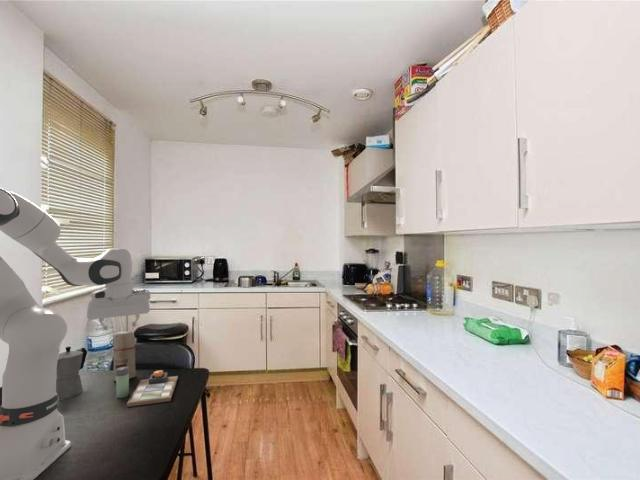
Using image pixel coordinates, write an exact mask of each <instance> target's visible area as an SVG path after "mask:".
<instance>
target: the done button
mask: <svg viewBox="0 0 640 480" xmlns="http://www.w3.org/2000/svg"><path fill="white" fill-rule="evenodd" d="M163 373H164V370H161V369H160V370H155V371H153V373H152V374H153V378H160V377H163Z"/></svg>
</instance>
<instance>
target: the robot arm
mask: <svg viewBox="0 0 640 480" xmlns="http://www.w3.org/2000/svg"><path fill="white" fill-rule="evenodd" d="M0 231H1V232H2V233H4V235H6V236H8V237H9V238H11V239H12V240H13V241H16V243H19V244H20V245H22V246H23V247H25V248H27V249H28V250H29V251H31V252H32V253H33V254H34V255H35V256H36V257H38V258H40V259H41V260H42V261H43V262H45V263H46V264H48V265H49V266H51V267H52V268H53V269H54V270H55V271H56V272H57V273H58V274H59V275H60V277H61V279H62V280H63V282H65V284H67V285H68V286H70V287H71V286H72V287H84V286H86V287H87V286H89V287H90V286H92V287H93V286H96V287H97V286H104V288H100V289H98V290H94V291H92V292H91V294H90V298H91V300H89V302H88V305H87V311H86V318H87V319H88V320H98V322H99V324H100V325H101V326H102V331H108V329H109V328H108V324H105V323H104V320H105V319H108V318H117V317H125V316H135V319H134V320H132V321H131V327H133V328H134V327H137V322H138V320H139V319H140V315H143V314H148V313H150V311H151V310H150V308H151V307H150V301H149V300H150V299H151V292H150V291H149V290H148V289H133V287H134V286H133V285H134V284H133V279H132V274H133V261H132V256H131V253H130V251H129V250H127V249H126V248H125V249H124V248H114V247H113V248H111V247H110V248H107V249H106V251H104V252H103V253H102V254H100V255H98V256H96V257H94V258H81V257H75V256H72V255H71V254H70V253H68V252H67V251H66V250H65V249H64V248H63V247H61V246H60V245H58V244H57V240H59V237H60V235H61V225H60V224H59V223H58V222H57V221H56V220H55V219H54V217H53V216H51V215H50V214H49V213H48V212H46V211H45V210H44V209H42V208H41V207H39V206H38V205H36V204H35V203H33V202H31V201H30V200H28V199H27V198H25V197H24V196H21V195H20V194H17V193H16V192H13V191H10V190H9V191H7V190H6V189H4V188H2V187H0ZM67 332H68V325H67V322H66V320H65V319H64V318H63V316H61V315H60V313H58V312H57V311H55V310H53V309H48V308H45V307H43V306H41V305H40V304H39V303H37V301H36V300H35V298H34V297H33V295H32V293H30V291H29V290H28V288H27V287H26V284H25V282H24V280H23V279H22V278H21V277H20V275H18V274H17V273H16V272H15V271H14V269H13V268H11V266H10V265H9V264H8V262H6V261H5V260H4V259H3V257H2V256H1V255H0V340H1V341H2V342H4V343H6V344H8V354H7V356H8V357H7V359H6V360H7V361H6V365H5V369H4V371H3V374H2V377H1V378H2V380H1V381H2V382H1V384H2V385H1V387H2V389H1V401H2V402H1V405H0V480H35V479H36V478H37V477H39V475H40V474H42V472H44V471H45V470H46V469H48V467H50V465H51V464H53V463H54V462H55V461H56V460H57V459H58V458H60V456H62V455H63V454H65V452H66V451H67V450H68V449H70V447H71V446H72V442H71V440H68V439H66V432H65V431H66V430H65V418H64V415H63V414H62V413H61V412H60V411H59V409H58V407H59V401H60V399H59V398H58V393H57V392H56V379H57V375H56V368H57V361H58V356H59V354H60V352H61V347H62V342H63V341H64V339H65V337H66V336H67Z"/></svg>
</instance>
